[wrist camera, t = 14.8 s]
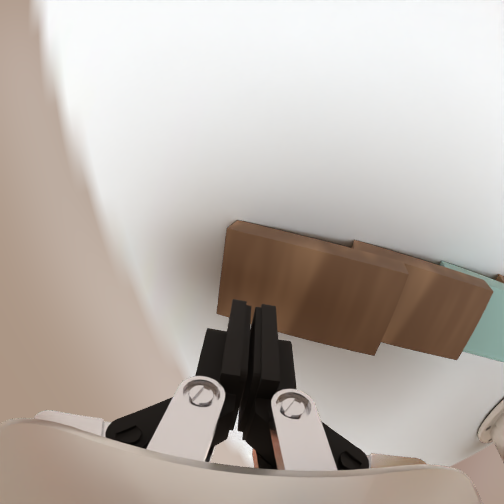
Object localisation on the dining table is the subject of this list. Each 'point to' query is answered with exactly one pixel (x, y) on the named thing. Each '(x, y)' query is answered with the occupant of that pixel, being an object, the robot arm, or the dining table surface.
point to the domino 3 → (487, 321)
